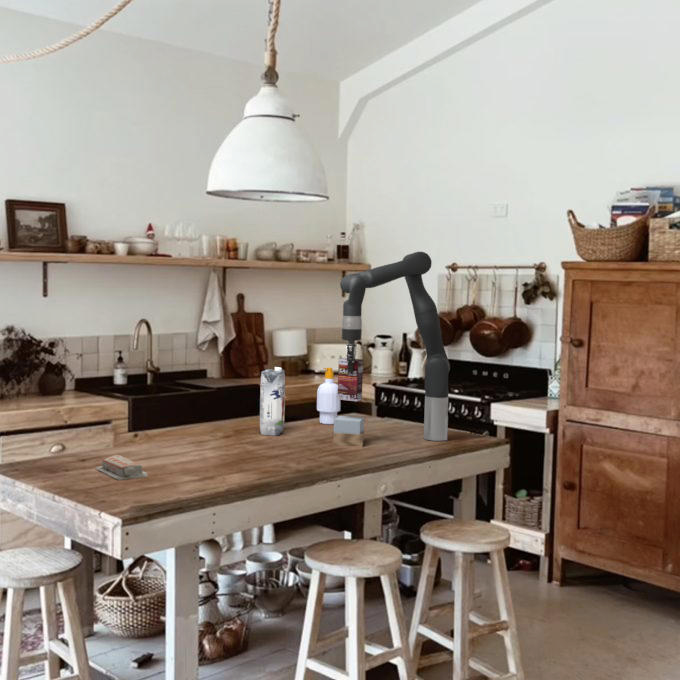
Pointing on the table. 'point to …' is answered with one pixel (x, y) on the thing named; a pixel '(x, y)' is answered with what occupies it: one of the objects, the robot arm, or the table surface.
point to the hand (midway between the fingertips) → (350, 371)
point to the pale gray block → (349, 425)
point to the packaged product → (121, 468)
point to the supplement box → (350, 380)
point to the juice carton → (272, 401)
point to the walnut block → (348, 439)
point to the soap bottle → (328, 399)
